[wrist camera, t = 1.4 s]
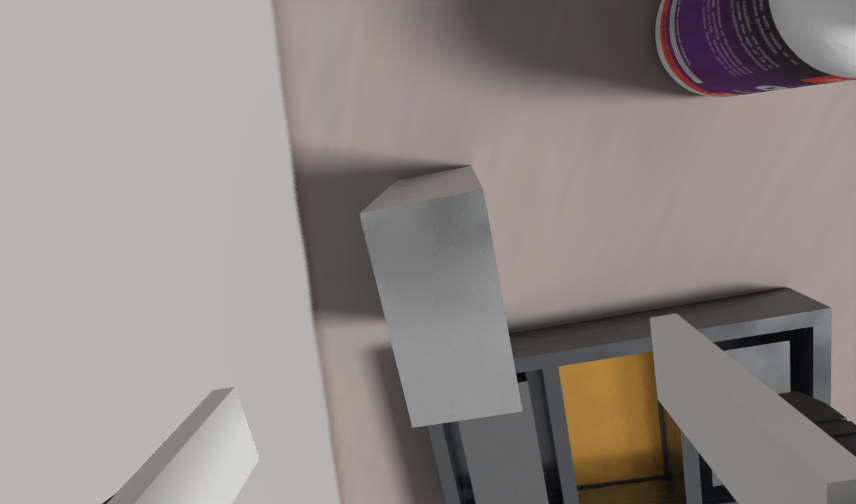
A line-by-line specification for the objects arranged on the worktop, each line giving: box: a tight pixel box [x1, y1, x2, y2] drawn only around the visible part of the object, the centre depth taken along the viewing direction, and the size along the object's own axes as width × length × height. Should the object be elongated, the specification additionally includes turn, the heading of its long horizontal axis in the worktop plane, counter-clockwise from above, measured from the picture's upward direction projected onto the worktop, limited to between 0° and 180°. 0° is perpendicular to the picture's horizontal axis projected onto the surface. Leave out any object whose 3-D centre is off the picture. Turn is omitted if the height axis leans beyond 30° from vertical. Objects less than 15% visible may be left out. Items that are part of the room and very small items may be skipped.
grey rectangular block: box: [359, 166, 523, 428], centre depth 25 cm, size 10×5×12 cm, turn 12°
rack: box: [427, 288, 832, 504], centre depth 32 cm, size 14×25×4 cm, turn 102°
